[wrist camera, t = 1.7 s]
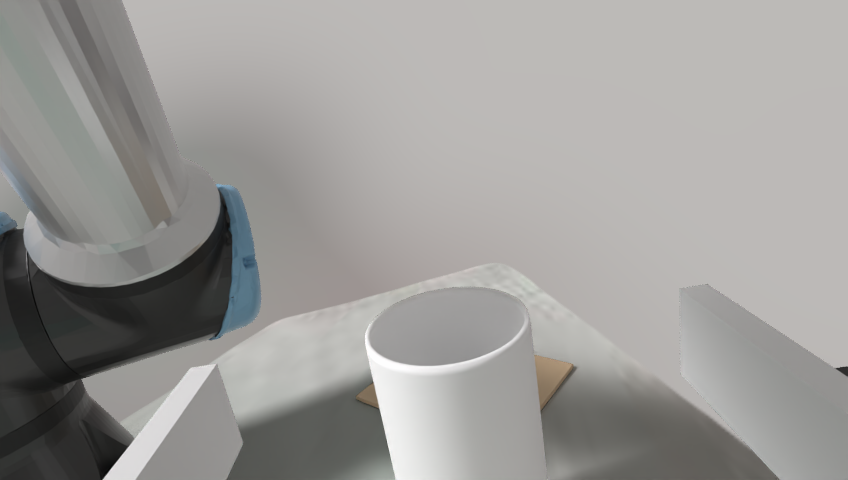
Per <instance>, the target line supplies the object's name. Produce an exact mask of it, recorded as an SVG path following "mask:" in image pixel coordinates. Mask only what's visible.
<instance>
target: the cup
mask: <svg viewBox="0 0 848 480" xmlns="http://www.w3.org/2000/svg"><path fill="white" fill-rule="evenodd" d="M365 343H366V350H367V355H368V359H369V364H370V368H371V373H372V377H373V382H374V386H375V391H376V395H377V399H378V404H379V408H380V413H381V417H382V421H383V426H384V430H385V435H386V439H387V443H388V448H389V452H390V457H391V461H392V465H393V470H394V474H395V479H396V480H548V477H547V468H546V459H545V449H544V440H543V431H542V421H541V412H540V403H539V394H538V384H537V375H536V366H535V357H534V348H533V339H532V330H531V322H530V317H529V312H528V310H527V308H526V306H525V305H524V304H523V303H522V302H521V301H520V300H519V299H518V298H516V297H514V296H512V295H510V294H508V293H506V292H502V291H499V290H495V289H490V288H483V287H452V288H444V289H438V290H433V291H428V292H424V293H421V294H417V295H414V296H411V297H409V298H406V299H404V300H401V301H399V302H397V303H395V304H393V305H392V306H390V307H388V308H387V309H385V310H384V311H382V312H381V313H380V314H379V315H377V316H376V317H375V318H374V319H373V321H372V322H371V323H370V325H369V326H368V328H367V330H366V334H365Z"/></svg>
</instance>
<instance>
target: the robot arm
mask: <svg viewBox="0 0 848 480" xmlns="http://www.w3.org/2000/svg"><path fill="white" fill-rule="evenodd" d="M0 172H1V174H2V175H3V176H4V177H5V179H6V180H7V181H8V182H9V184H10V185H11V186H12V188H13V189H14V190H15V191H16V192H17V194H18V195H19V197H20V198H21V199H22V200H23V202H24V203H25V204H26V205H27V207H28V208H29V209H30V211H29V213H28V215H27V218H26V222H25V225H24V229H16V227H17V223H16V221H15V220H12V219H11V218H10V217H9V215H8V214H7V213H4V212H0V480H226V479H227V477H228V475H229V473H230V471H231V469H232V467H233V465H234V462H235V460H236V458H237V456H238V454H239V452H240V450H241V448H242V445H243V440H242V437H241V434H240V431H239V428H238V425H237V422H236V419H235V416H234V413H233V410H232V407H231V404H230V401H229V398H228V395H227V392H226V389H225V386H224V383H223V380H222V377H221V375H220V372H219V369H218V366H217V364H212V365H206V366H200V367H193V368H190V369H189V371H188V372H187V373H186V374H185V376H184V377H183V378H182V380H181V381H180V382H179V383H178V385H177V386H176V387H175V388H174V390H173V391H172V392H171V393H170V395H169V396H168V397H167V399H166V400H165V401H164V402H163V404H162V405H161V406H160V407H159V409H158V410H157V411H156V412H155V414H154V415H153V416H152V418H151V419H150V420H149V421H148V423H147V424H146V425H145V426H144V428H143V429H142V430H141V432H140V433H139V434H138V435H137V437H136V438H135V439H134V438H133V436H132V435H131V434H130V433H129V432H128V431H127V430H126V429H125V428H124V427H123V426H122V425H120V424H119V423H118V422H117V421H116V420H115V419H114V418H113V417H112V416H111V415H110V414H109V413H108V412H106V411H105V410H104V409H103V408H102V407H101V406H100V405H99V404H98V403H97V402H96V401H94V400H93V399H92V398H91V397H90V396H89V394H88V393H87V391H86V389H85V387H84V385H83V382H82V380H81V379H83V378H86V377H89V376H92V375H95V374H98V373H101V372H105V371H108V370H111V369H114V368H118V367H121V366H124V365H127V364H130V363H134V362H137V361H140V360H143V359H146V358H149V357H153V356H156V355H159V354H162V353H165V352H169V351H172V350H175V349H179V348H182V347H186V346H189V345H192V344H196V343H199V342H202V341H206V340H215V339H218V338H220V337H221V336H222V335H223V334H225V333H228V332H231V331H233V330H236V329H239V328H242V327H244V326H247V325H248V324H250V323H251V322H253V320H255V318H256V317H257V315H258V313H259V310H260V305H261V289H260V279H259V272H258V266H257V262H256V260H255V252H254V242H253V238H252V233H251V228H250V225H249V221H248V217H247V213H246V209H245V206H244V203H243V200H242V198H241V196H240V193H239V191H238V190H237V189H236V188H235V187H233V186H231V185H220V184H215V182H214V181H213V179H212V178H211V176H210V175H209V174H208V172H207V171H206V170H204V169H203V168H202V167H201V166H199V165H198V164H196V163H195V162H193V161H191V160H189V159H186V158H184V157H181V155H180V153H179V150H178V147H177V145H176V142H175V140H174V137H173V134H172V132H171V129H170V126H169V124H168V121H167V118H166V116H165V113H164V111H163V108H162V105H161V103H160V100H159V98H158V95H157V92H156V89H155V87H154V84H153V81H152V79H151V76H150V74H149V71H148V68H147V66H146V63H145V60H144V58H143V55H142V53H141V50H140V47H139V45H138V42H137V39H136V37H135V34H134V31H133V29H132V26H131V23H130V21H129V18H128V16H127V13H126V10H125V8H124V5H123V3H122V0H0ZM680 374H681V375H682V376H683V377H684V379H685V380H686V381H687V382H688V383H689V384H690V385H691V386H692V387H693V388H694V389H695V390H696V391H697V392H698V393H699V394H700V395H701V397H703V399H704V400H705V401H706V402H707V403H708V404H709V405H710V406H711V407H712V408H713V409H714V410H715V411H716V412H717V413H718V415H719V416H720V417H721V418H722V419H723V420H724V421H725V422H726V423H727V424H728V425H729V426H730V427H731V428H732V429H733V430H734V432H735V433H736V434H737V435H738V436H739V437H740V438H741V439H742V440H743V441H744V442H745V443H746V444H747V445H748V446H749V447H750V448H751V450H752V451H753V452H754V453H755V454H756V455H757V456H758V457H759V458H760V459H761V460H762V461H763V462H764V463H765V464H766V465H767V467H768V468H769V469H770V470H771V471H772V472H773V473H774V474H775V475H776V476H777V477H778V478H779V479H780V480H848V367H840V368H833V367H832V366H830V365H829V364H827V363H826V362H824V361H823V360H821V359H820V358H818V357H817V356H815V355H814V354H812V353H811V352H809V351H808V350H806V349H805V348H803V347H802V346H800V345H799V344H797V343H796V342H794V341H792V340H791V339H790V338H788V337H787V336H785V335H783V334H782V333H781V332H779V331H777V330H776V329H774V328H773V327H771V326H770V325H768V324H767V323H765V322H764V321H762V320H761V319H759V318H758V317H756V316H755V315H753V314H752V313H750V312H749V311H747V310H746V309H744V308H743V307H741V306H740V305H738V304H737V303H735V302H734V301H732V300H730V299H729V298H727V297H726V296H724V295H723V294H721V293H720V292H718V291H717V290H715V289H714V288H712V287H711V286H709V285H708V284H705V285H699V286H692V287H687V288H680Z"/></svg>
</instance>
